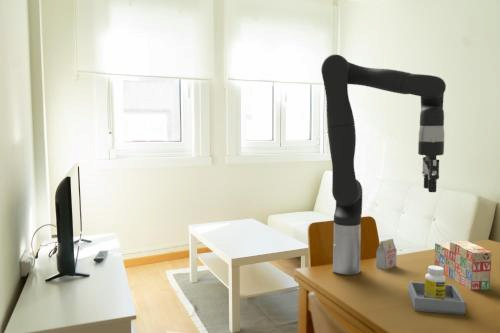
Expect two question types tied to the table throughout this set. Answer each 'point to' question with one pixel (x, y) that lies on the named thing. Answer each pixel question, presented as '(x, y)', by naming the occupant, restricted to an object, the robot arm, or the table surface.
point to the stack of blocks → (465, 263)
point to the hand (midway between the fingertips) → (429, 190)
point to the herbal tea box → (386, 255)
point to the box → (436, 300)
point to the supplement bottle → (435, 283)
